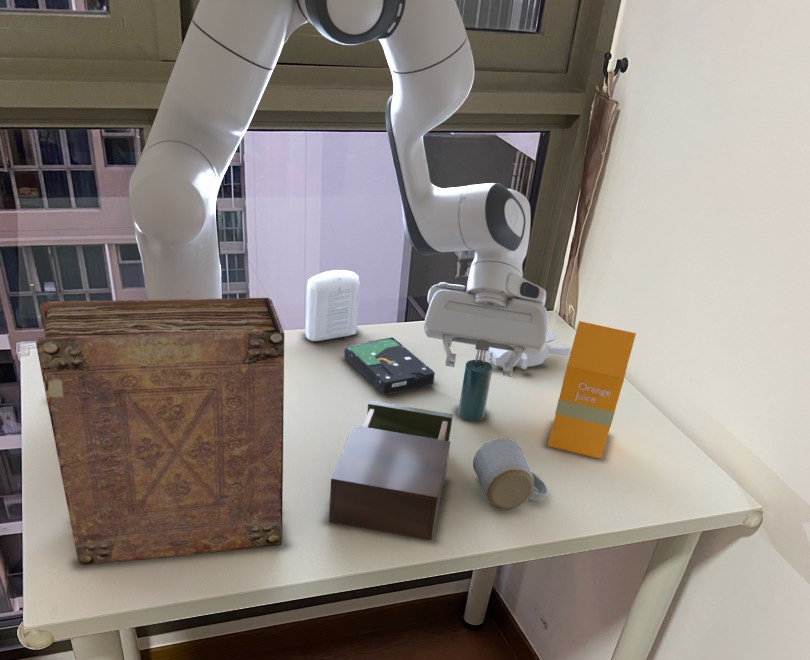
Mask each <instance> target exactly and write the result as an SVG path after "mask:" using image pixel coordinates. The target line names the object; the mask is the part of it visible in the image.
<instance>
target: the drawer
mask: <svg viewBox="0 0 810 660" xmlns="http://www.w3.org/2000/svg"><path fill="white" fill-rule="evenodd" d="M366 415H367V416H366V417H365V420H364V423H363V425H362V427H368V428H374V429H379V430H385V431H391V432H397V433H403V434H409V435H415V436H421V437H427V438H433V439H438V440H444V441H450V438H451V432H452V431H451V430H452V426H453V425H452V424H453V418H454V414H453V413H448V412H442V411H436V410H429V409H424V408H418V407H417V408H416V407H412V406H405V405H398V404H395V403H394V404H393V403H388V402H382V401H376V400H369V401H368V403H367V412H366Z"/></svg>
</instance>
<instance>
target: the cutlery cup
mask: <svg viewBox="0 0 810 660" xmlns="http://www.w3.org/2000/svg"><path fill="white" fill-rule="evenodd" d="M489 345H490V342H489V341H487V340H482V339H481V340H477V342H476V345H475V347H474V348H475V350H476V354H475V359H471V360H468V361H467V362H466V363H465V367H464V373H463V379H462V386H461V391H460V399H459V403H458V412H457V414H458V416H459V417H460V418H461V419H463V420H465V421H470V422H478V421H481V420H483V419H484V418H485V414H486V408H487V401H488V398H489V397H488V396H489V391H490V385H491V380H492V375H493V369H494V367H493V365H492V364H491V363H490V362H488V361H486V357H487V351H489V348H490V347H489Z"/></svg>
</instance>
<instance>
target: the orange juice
mask: <svg viewBox="0 0 810 660" xmlns="http://www.w3.org/2000/svg"><path fill="white" fill-rule="evenodd" d="M636 335H637V333H636V332H631V331H628V330H623V329H618V328H613V327H609V326H604V325H600V324H595V323H590V322H587V321H580V320H579V321H578V324H577V327H576V331H575V334H574V338H573V341H572V345H571V348H570V350H571V353H570V355H569V357H568V361H567V363H566V368H565V372H564V376H563V380H562V385H561V388H560V393H559V397H558V400H557V404H556V409H555V414H554V418H553V423H552V427H551V431H550V435H549V439H548V444H547V447H550V448H554V449H557V450H563V451H566V452H571V453H574V454H579V455H582V456H586V457H591V458H595V459H600V460H601V459H602V457H603V454H604V450H605V447H606V443H607V440H608V437H609V434H610V433H609V432H610V428H611V427H612V423H613V420H614V416H615V413H616V409H617V405H618V403H619V398H620V396H621V395H620V394H621V391H622V390H623V383H624V381H625V377H626V373H627V369H628V365H629V361H630V357H631V353H632V350H633V346H634V342H635V339H636Z"/></svg>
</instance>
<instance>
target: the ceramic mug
mask: <svg viewBox="0 0 810 660" xmlns="http://www.w3.org/2000/svg"><path fill="white" fill-rule="evenodd" d="M472 461H473V462H472V467H473V471H474V473H475V475H476V477H477V480H478V482H479V484H480V486H481V488H482V491H483V493H484V496H485V498H487V500H488V501H489V502H490V503H491V504H492V505H493V506H495V507H498V508H500V509H513V508H517V507H519V506H521V505H523V504H524V503H526V501H528V500H529V501H532V502H538V503H539V502H542V500H544V498H545V496H546V495H548V488H547V485H546V484H545V482H544V481H543V480H542V479H541V477H540V476H538V475H537V474H536V473H534V472H532V470H531V468H530V466H529V463H528V460H527V458H526V455H525V453H524V451H523V449H522V447H521V446H520V444H519V443H518V442H517V441H515V440H513V439H511V438H507V437H498V438H494V439H491V440H488V441H487V442H485V443H483V445H481V446H480V447H479V448H478V449H477V450H476V452H475V454H474V457H473V459H472ZM534 489H536V490H537V491H535V490H534Z"/></svg>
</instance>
